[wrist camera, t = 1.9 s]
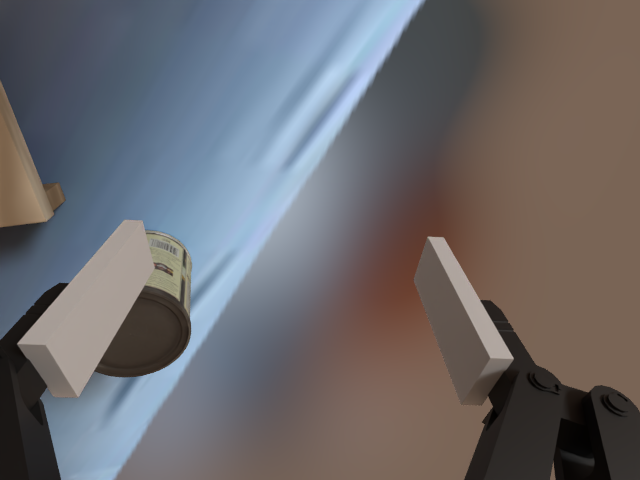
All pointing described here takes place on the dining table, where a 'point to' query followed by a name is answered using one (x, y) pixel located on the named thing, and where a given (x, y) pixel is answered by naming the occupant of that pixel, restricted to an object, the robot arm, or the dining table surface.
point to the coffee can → (154, 315)
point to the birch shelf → (21, 176)
